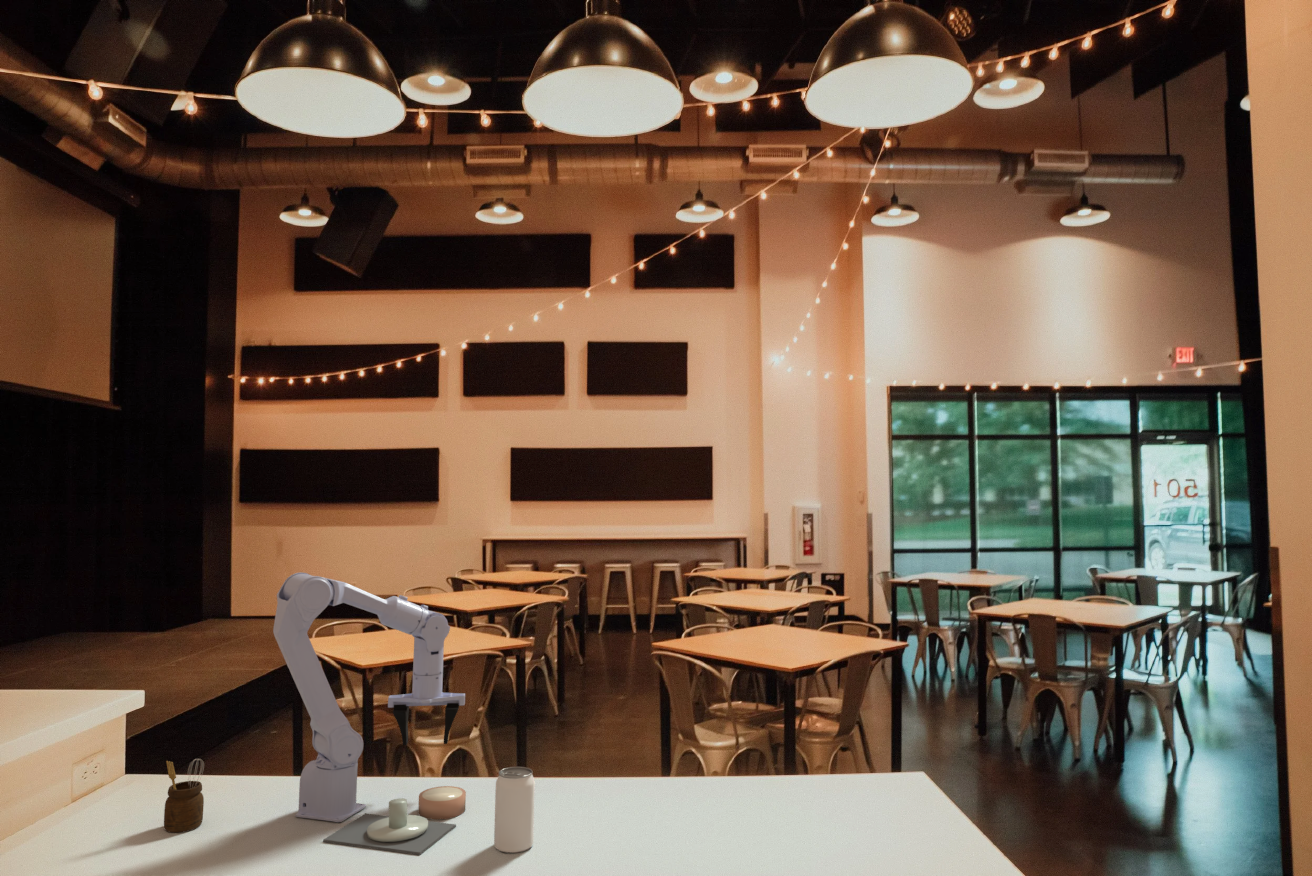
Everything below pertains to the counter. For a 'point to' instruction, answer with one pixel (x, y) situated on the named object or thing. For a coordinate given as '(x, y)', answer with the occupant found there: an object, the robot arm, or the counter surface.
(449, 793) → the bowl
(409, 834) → the lid
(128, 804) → the counter surface
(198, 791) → the utensil holder
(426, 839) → the mat
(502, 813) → the can
